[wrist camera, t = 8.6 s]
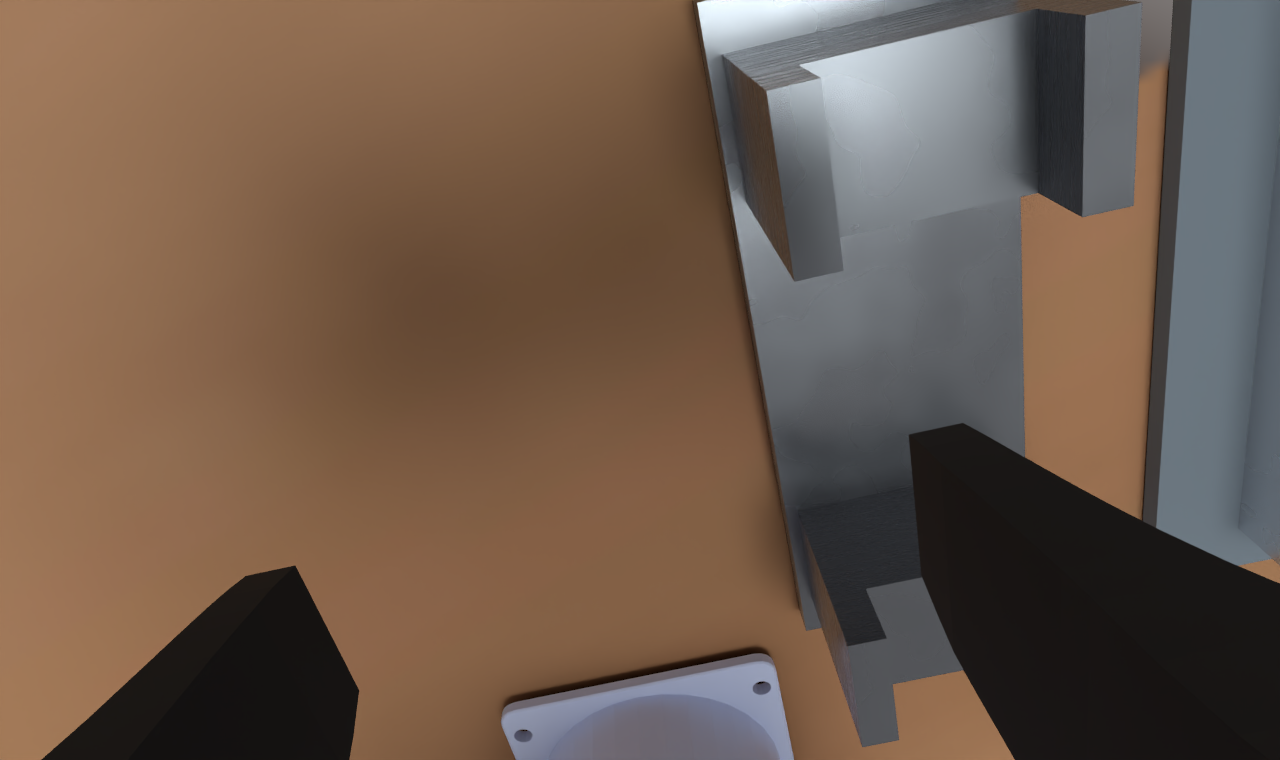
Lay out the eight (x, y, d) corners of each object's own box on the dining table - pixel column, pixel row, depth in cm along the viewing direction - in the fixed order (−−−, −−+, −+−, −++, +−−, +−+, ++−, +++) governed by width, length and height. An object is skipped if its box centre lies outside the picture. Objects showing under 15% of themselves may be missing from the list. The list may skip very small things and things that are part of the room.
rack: (1013, 566, 24) (1124, 727, 19) (799, 610, 24) (853, 780, 19) (997, -74, 17) (1168, -82, 12) (692, 0, 17) (734, 22, 12)
